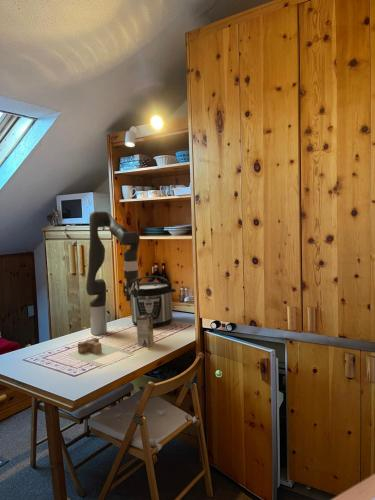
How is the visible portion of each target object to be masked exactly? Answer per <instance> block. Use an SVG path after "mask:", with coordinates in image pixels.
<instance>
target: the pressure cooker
mask: <svg viewBox="0 0 375 500" xmlns="http://www.w3.org/2000/svg"><path fill="white" fill-rule="evenodd" d="M138 278H139V287H140V288H139V289H138V291H137V292H138V297H137V298H134V297H133V291H134V290H133V288H132V290H131V292H130V298H131V300H130V307H131V308H130V311H131V321H132V323H133V325H135V327H137V318H138V317H139V316H141V315H152V319H153V328H156V327H163V326H166V325H168V324H171V323H172V320H173V316H174V315H173V301H172V300H173V299H172V293H176V288H172V282H171V281H168V279H167V278H164V277H163V276H158V275H146V276H145V275H144V276H142V277H138ZM143 279H147V281H146V282H141V281H142V280H143ZM155 279H158V280H159V281H154V280H155ZM140 282H141V283H140ZM137 286H138V285H137Z"/></svg>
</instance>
